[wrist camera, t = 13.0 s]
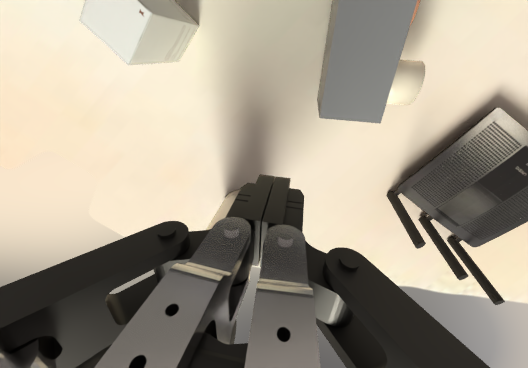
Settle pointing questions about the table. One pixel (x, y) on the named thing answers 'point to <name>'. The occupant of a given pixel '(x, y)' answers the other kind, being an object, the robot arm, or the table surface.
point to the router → (471, 191)
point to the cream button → (406, 82)
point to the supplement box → (140, 28)
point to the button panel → (362, 57)
